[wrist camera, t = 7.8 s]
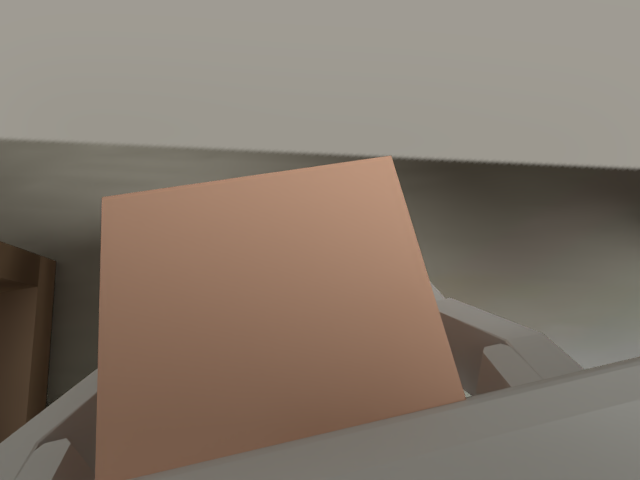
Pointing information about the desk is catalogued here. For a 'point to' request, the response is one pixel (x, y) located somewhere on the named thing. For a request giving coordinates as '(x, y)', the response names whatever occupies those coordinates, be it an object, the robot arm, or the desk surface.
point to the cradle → (24, 335)
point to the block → (261, 316)
